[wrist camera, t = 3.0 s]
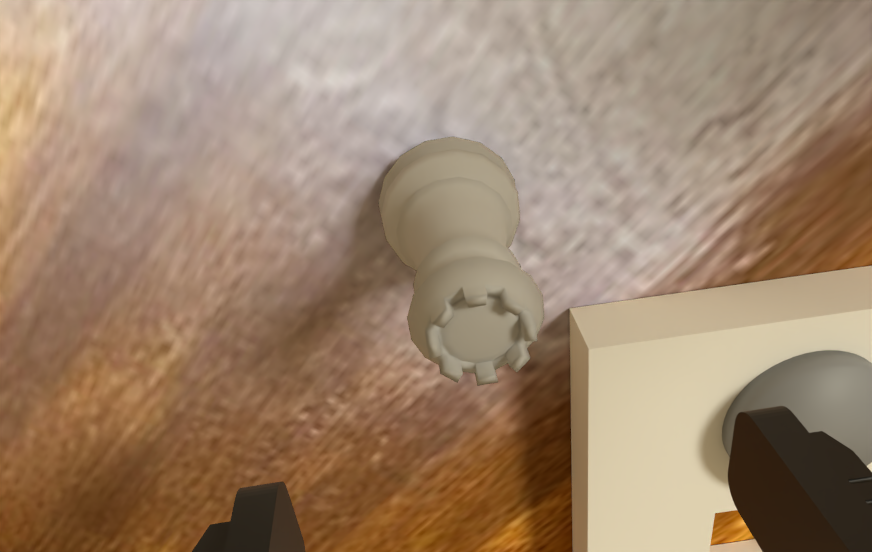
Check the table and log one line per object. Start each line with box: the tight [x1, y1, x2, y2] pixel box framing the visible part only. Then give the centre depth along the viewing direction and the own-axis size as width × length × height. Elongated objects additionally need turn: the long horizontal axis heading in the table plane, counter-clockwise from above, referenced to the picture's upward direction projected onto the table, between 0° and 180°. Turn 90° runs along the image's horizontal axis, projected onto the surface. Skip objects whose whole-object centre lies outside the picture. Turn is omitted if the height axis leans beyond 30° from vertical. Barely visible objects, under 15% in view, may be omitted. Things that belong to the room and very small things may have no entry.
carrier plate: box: [570, 266, 872, 552], centre depth 28 cm, size 18×16×4 cm
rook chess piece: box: [378, 137, 544, 386], centre depth 19 cm, size 4×4×8 cm
